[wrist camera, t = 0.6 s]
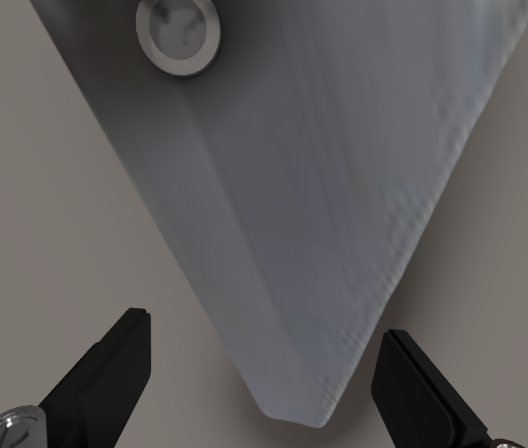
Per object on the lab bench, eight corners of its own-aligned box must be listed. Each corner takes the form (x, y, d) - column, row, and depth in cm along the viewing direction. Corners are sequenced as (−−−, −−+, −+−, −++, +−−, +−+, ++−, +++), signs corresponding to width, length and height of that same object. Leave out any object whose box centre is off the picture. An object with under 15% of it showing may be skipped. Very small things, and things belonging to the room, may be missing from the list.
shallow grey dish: (141, -19, 31) (135, -29, 30) (224, -8, 32) (222, -17, 30) (141, 72, 34) (135, 68, 32) (218, 82, 34) (216, 79, 33)
